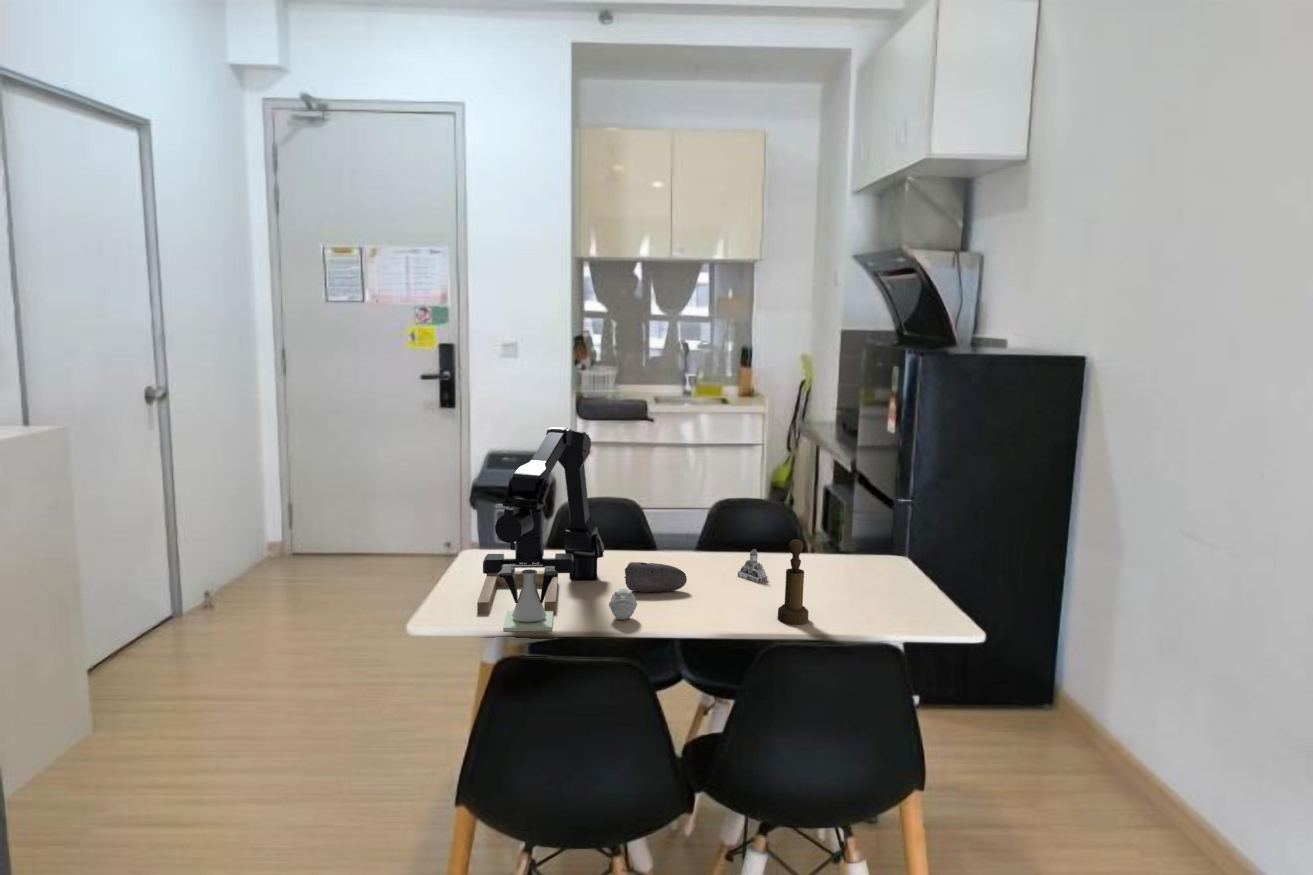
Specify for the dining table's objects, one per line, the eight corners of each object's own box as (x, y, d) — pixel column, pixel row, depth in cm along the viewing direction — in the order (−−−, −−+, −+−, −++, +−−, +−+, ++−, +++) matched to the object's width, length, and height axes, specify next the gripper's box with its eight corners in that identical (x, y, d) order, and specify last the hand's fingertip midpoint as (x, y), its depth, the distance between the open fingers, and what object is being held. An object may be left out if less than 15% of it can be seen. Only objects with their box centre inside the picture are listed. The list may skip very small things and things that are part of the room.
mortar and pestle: (810, 617, 187) (814, 537, 184) (805, 626, 181) (809, 545, 178) (780, 613, 189) (784, 534, 186) (774, 622, 183) (778, 541, 180)
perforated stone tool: (685, 587, 205) (686, 560, 204) (687, 594, 200) (688, 566, 199) (624, 587, 205) (624, 559, 204) (624, 594, 200) (624, 565, 199)
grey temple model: (785, 579, 215) (787, 550, 214) (761, 585, 210) (762, 555, 208) (760, 570, 222) (761, 542, 221) (736, 576, 217) (737, 547, 215)
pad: (553, 614, 185) (553, 610, 185) (551, 630, 175) (552, 627, 175) (507, 614, 184) (507, 610, 184) (503, 631, 174) (503, 627, 174)
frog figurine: (608, 625, 179) (609, 593, 178) (608, 613, 186) (609, 583, 185) (637, 625, 179) (637, 593, 178) (636, 613, 186) (636, 583, 185)
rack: (557, 582, 207) (558, 571, 206) (555, 612, 186) (555, 599, 186) (487, 583, 205) (487, 571, 205) (477, 613, 184) (477, 599, 184)
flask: (513, 611, 183) (513, 566, 181) (547, 610, 183) (547, 566, 182) (510, 623, 176) (510, 576, 174) (545, 622, 176) (545, 576, 175)
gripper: (574, 521, 186) (573, 589, 188) (487, 521, 184) (488, 590, 186) (573, 534, 175) (573, 607, 177) (482, 534, 173) (482, 608, 175)
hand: (529, 602), depth 179 cm, fingers closed on flask, 5 cm apart
